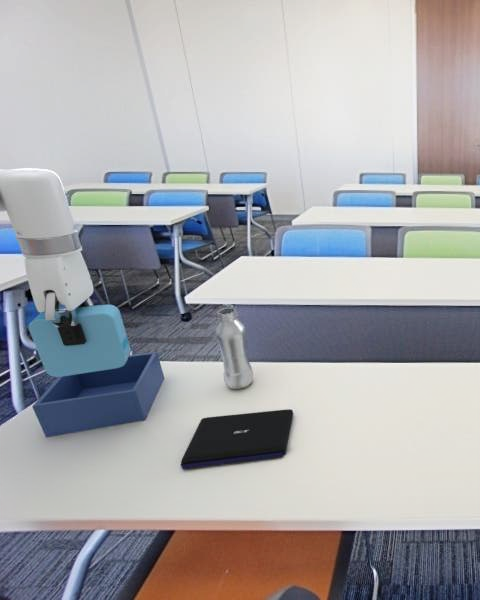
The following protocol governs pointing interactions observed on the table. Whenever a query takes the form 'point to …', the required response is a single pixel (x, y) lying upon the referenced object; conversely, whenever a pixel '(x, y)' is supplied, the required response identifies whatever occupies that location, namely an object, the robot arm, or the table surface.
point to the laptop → (239, 438)
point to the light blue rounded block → (86, 357)
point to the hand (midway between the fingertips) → (82, 336)
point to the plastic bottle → (233, 349)
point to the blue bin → (101, 397)
